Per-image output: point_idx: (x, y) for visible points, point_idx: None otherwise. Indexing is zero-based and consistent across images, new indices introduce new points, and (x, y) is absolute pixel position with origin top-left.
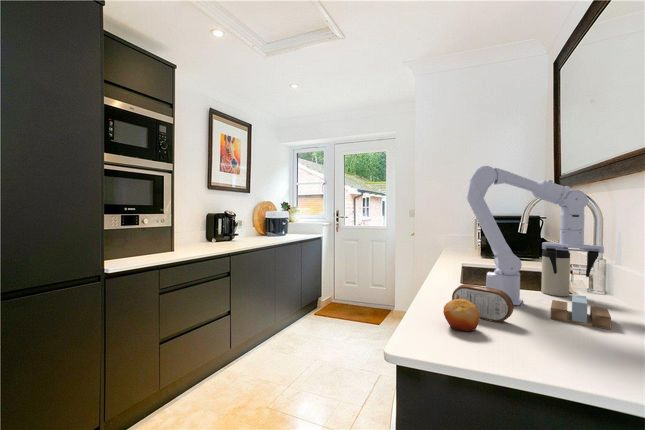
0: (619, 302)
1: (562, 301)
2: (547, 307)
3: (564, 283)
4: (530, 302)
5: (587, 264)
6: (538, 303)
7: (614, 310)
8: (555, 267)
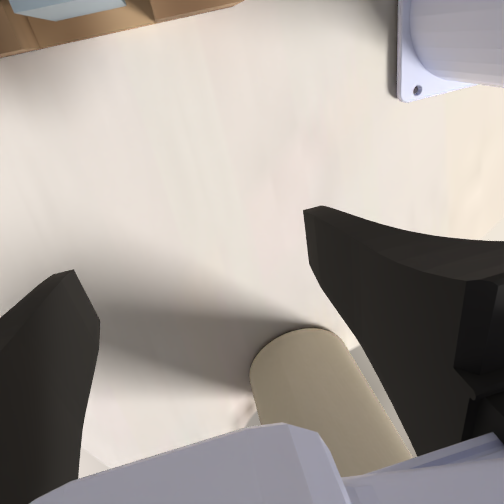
0: (89, 432)
1: (183, 10)
2: (266, 59)
3: (275, 398)
4: (356, 101)
5: (5, 342)
6: (320, 116)
7: None
8: (335, 223)
